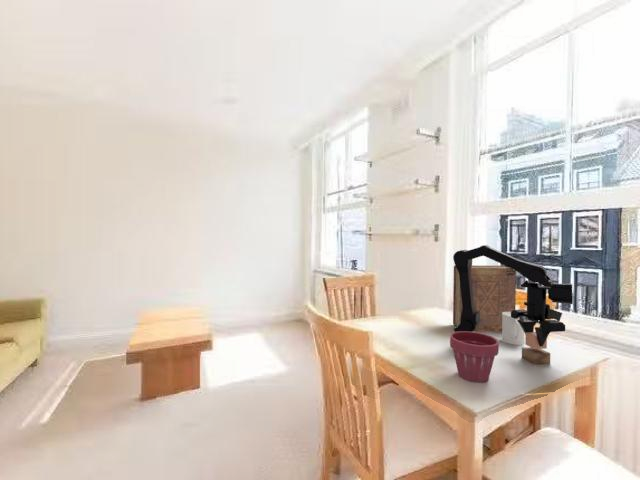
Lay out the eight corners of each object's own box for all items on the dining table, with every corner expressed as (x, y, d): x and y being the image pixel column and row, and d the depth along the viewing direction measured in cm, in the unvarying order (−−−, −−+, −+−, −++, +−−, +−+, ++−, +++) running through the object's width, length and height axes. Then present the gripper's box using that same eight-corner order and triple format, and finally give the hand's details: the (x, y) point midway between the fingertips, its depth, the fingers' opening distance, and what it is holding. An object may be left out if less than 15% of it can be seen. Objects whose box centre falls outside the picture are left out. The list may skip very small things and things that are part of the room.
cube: (534, 349, 112) (535, 336, 112) (525, 344, 116) (525, 332, 116) (546, 348, 112) (546, 335, 112) (536, 343, 117) (536, 331, 117)
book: (459, 330, 152) (459, 267, 151) (452, 324, 161) (453, 265, 160) (515, 331, 149) (516, 267, 148) (505, 325, 158) (506, 265, 157)
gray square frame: (533, 368, 110) (533, 366, 110) (517, 358, 118) (517, 357, 118) (555, 366, 111) (555, 365, 111) (537, 357, 119) (537, 356, 119)
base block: (534, 365, 111) (534, 354, 111) (521, 358, 117) (521, 347, 117) (550, 364, 112) (550, 353, 112) (536, 357, 118) (536, 346, 118)
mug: (528, 349, 127) (529, 319, 127) (504, 346, 130) (504, 317, 130) (522, 340, 138) (522, 312, 138) (500, 337, 141) (500, 310, 141)
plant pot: (506, 378, 103) (507, 339, 102) (484, 391, 95) (484, 348, 94) (464, 363, 115) (464, 328, 114) (441, 374, 106) (441, 336, 106)
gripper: (580, 305, 105) (580, 352, 106) (536, 294, 124) (536, 334, 125) (549, 307, 104) (549, 354, 105) (510, 295, 123) (509, 335, 123)
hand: (535, 343), depth 114 cm, fingers closed on cube, 4 cm apart
